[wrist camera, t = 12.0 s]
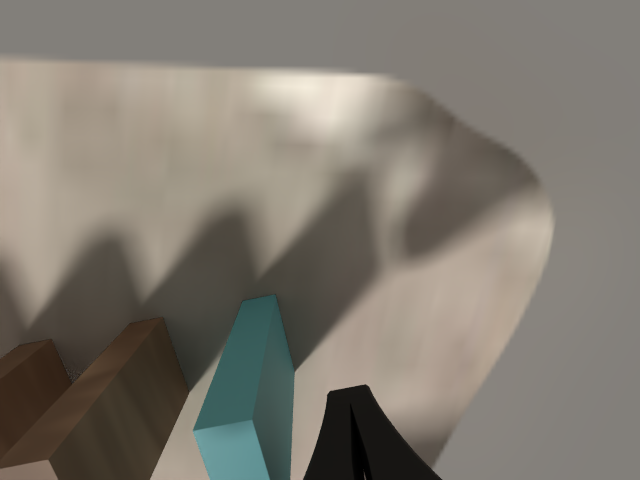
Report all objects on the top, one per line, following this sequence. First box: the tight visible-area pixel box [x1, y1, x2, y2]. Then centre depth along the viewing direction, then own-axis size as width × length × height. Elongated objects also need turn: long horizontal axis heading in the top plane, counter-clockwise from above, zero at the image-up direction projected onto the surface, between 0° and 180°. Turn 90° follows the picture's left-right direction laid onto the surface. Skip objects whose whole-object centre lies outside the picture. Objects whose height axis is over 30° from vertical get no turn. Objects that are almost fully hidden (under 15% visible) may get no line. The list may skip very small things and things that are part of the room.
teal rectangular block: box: [193, 294, 295, 480], centre depth 14 cm, size 2×4×8 cm, turn 11°
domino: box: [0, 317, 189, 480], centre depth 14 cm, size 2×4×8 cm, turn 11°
